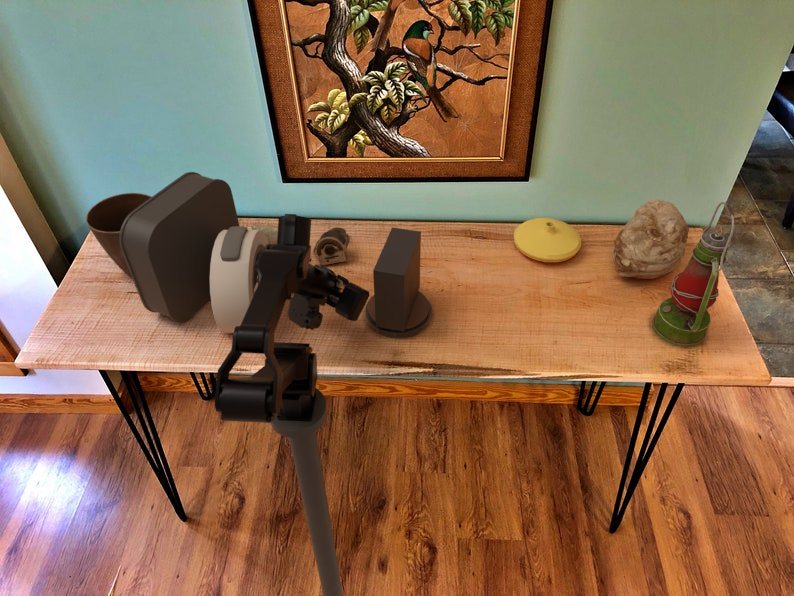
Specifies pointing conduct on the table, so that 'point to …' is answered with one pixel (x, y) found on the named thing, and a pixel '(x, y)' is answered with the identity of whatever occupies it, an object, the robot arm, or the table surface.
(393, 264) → the dark upright block
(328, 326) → the table surface
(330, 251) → the mechanical counter
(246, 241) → the alarm clock
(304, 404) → the robot arm
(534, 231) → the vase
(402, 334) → the turntable base
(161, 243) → the speaker
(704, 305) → the lantern
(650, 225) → the rock
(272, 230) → the cuneiform tablet
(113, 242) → the flower pot
